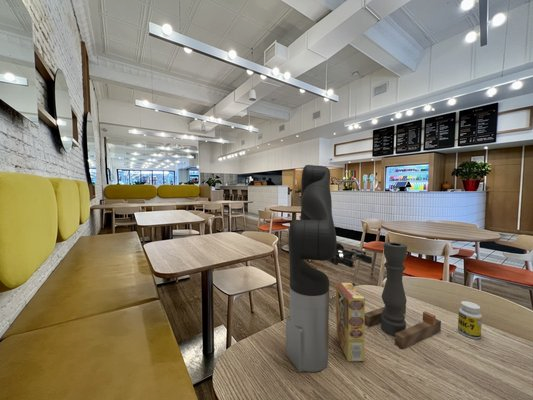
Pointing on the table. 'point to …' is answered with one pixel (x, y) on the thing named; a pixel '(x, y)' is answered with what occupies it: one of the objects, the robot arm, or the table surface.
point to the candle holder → (394, 289)
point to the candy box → (350, 321)
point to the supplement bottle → (470, 320)
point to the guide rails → (411, 333)
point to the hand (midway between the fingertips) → (362, 262)
